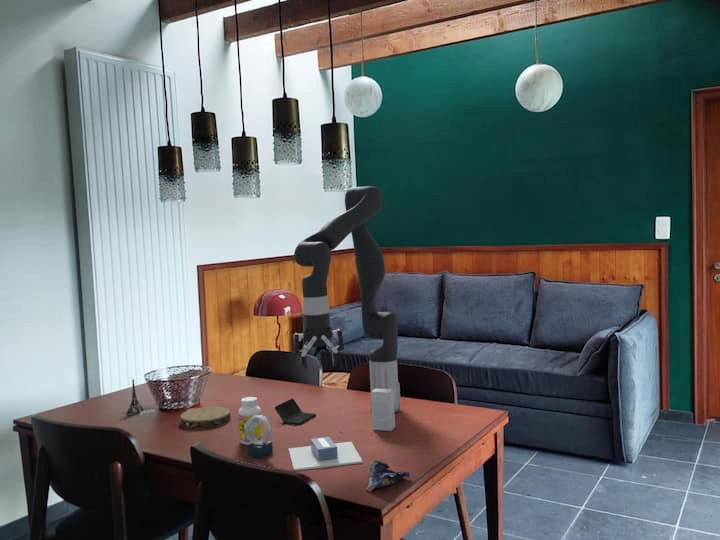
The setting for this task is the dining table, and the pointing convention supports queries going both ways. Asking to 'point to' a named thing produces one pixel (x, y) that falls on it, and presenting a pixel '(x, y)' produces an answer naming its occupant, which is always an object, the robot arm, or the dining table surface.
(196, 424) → the beige round flat disc
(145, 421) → the dining table surface
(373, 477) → the snack package
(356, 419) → the dining table surface
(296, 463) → the mat
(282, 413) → the handheld gaming console
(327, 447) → the card deck
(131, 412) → the eiffel tower figurine
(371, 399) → the robot arm
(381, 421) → the skincare box
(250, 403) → the supplement bottle
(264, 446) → the watch
